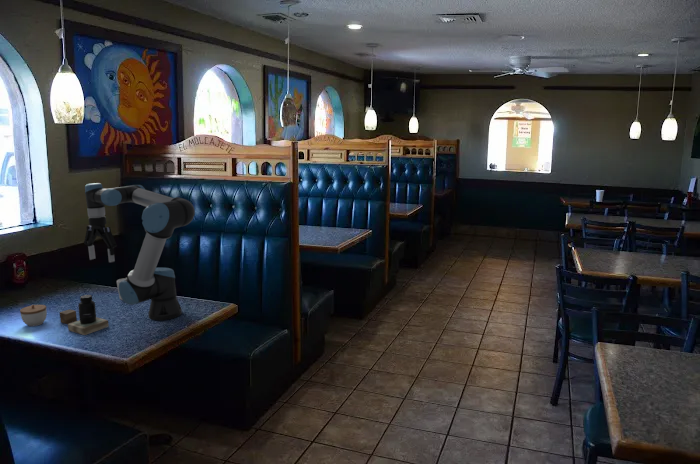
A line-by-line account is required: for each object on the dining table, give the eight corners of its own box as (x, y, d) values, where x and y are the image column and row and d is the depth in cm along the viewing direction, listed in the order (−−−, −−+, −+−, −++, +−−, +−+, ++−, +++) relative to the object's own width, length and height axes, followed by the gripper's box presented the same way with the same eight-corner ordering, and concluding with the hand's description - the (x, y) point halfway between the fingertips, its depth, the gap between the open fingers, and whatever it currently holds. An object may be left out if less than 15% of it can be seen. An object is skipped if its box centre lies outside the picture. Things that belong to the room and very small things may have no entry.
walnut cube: (77, 320, 264) (75, 310, 263) (67, 324, 260) (65, 314, 259) (70, 319, 267) (69, 309, 266) (60, 322, 263) (59, 312, 262)
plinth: (108, 326, 255) (108, 319, 255) (84, 335, 245) (83, 328, 245) (92, 322, 262) (92, 315, 261) (68, 330, 252) (67, 323, 251)
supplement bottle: (85, 325, 248) (82, 299, 246) (77, 322, 252) (74, 296, 250) (99, 320, 254) (97, 295, 251) (91, 318, 258) (88, 293, 255)
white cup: (128, 300, 292) (126, 282, 290) (115, 300, 293) (113, 282, 291) (137, 296, 299) (135, 278, 297) (124, 295, 301) (122, 277, 299)
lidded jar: (20, 323, 262) (17, 304, 260) (46, 318, 268) (43, 299, 266) (24, 330, 254) (21, 310, 252) (50, 324, 260) (47, 305, 258)
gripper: (122, 216, 259) (126, 261, 264) (86, 213, 271) (91, 256, 275) (108, 219, 253) (113, 264, 257) (72, 216, 265) (78, 259, 269)
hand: (102, 260), depth 266 cm, fingers open, 13 cm apart
